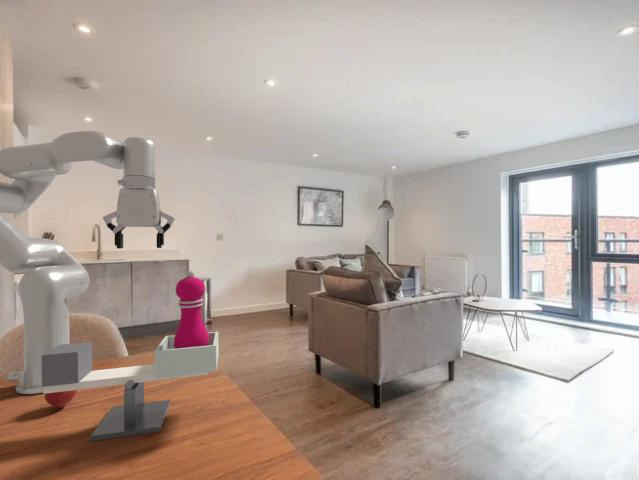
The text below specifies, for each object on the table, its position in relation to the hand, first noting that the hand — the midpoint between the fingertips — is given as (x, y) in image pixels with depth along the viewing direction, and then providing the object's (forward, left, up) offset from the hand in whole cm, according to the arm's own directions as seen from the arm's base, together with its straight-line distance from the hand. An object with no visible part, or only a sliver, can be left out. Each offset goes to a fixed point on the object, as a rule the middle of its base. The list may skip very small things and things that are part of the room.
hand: (139, 248), depth 91 cm
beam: (+5, -21, -28) cm, 35 cm away
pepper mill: (+16, -21, -25) cm, 36 cm away
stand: (+4, -21, -36) cm, 42 cm away
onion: (-14, -10, -36) cm, 40 cm away
